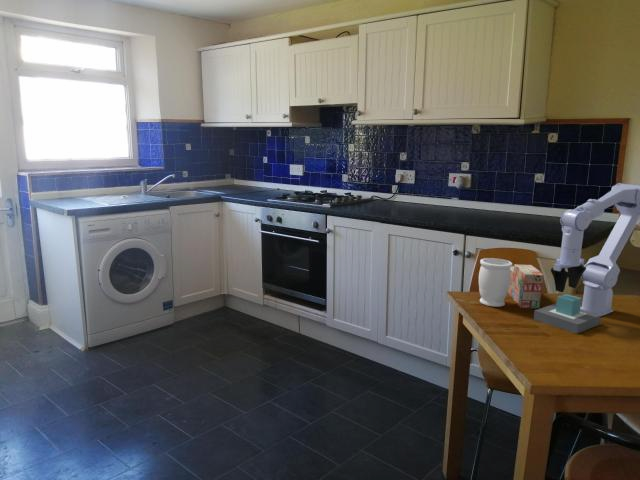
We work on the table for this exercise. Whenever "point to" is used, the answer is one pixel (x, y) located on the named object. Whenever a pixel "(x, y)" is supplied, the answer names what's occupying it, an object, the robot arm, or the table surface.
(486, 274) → the jar
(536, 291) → the stack of blocks
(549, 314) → the white-inset grey tile
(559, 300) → the teal cube
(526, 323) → the table surface
